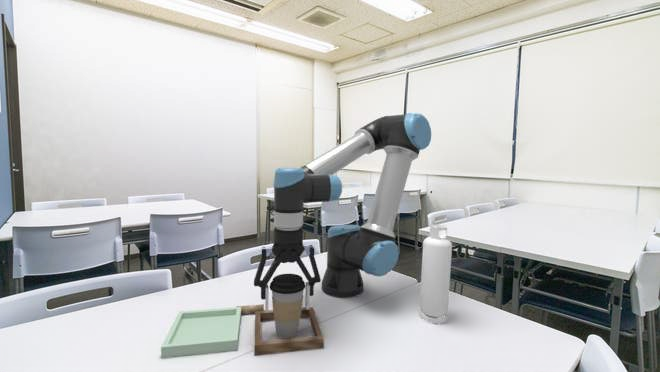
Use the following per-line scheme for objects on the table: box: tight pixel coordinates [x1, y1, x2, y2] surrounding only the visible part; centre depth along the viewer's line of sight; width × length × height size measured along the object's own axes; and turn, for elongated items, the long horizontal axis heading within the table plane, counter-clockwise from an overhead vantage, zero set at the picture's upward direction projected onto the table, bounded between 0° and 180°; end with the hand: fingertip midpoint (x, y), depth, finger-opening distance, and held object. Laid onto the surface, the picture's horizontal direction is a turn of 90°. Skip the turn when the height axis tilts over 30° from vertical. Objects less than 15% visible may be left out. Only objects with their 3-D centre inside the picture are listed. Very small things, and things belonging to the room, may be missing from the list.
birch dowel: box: [235, 304, 265, 316], centre depth 96 cm, size 8×2×2 cm
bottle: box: [418, 223, 453, 324], centre depth 95 cm, size 8×8×28 cm
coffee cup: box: [269, 273, 306, 340], centre depth 85 cm, size 9×9×15 cm
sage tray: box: [160, 306, 242, 359], centre depth 84 cm, size 17×17×3 cm
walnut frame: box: [253, 306, 325, 356], centre depth 85 cm, size 17×17×2 cm
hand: (287, 308), depth 85 cm, fingers open, 10 cm apart
